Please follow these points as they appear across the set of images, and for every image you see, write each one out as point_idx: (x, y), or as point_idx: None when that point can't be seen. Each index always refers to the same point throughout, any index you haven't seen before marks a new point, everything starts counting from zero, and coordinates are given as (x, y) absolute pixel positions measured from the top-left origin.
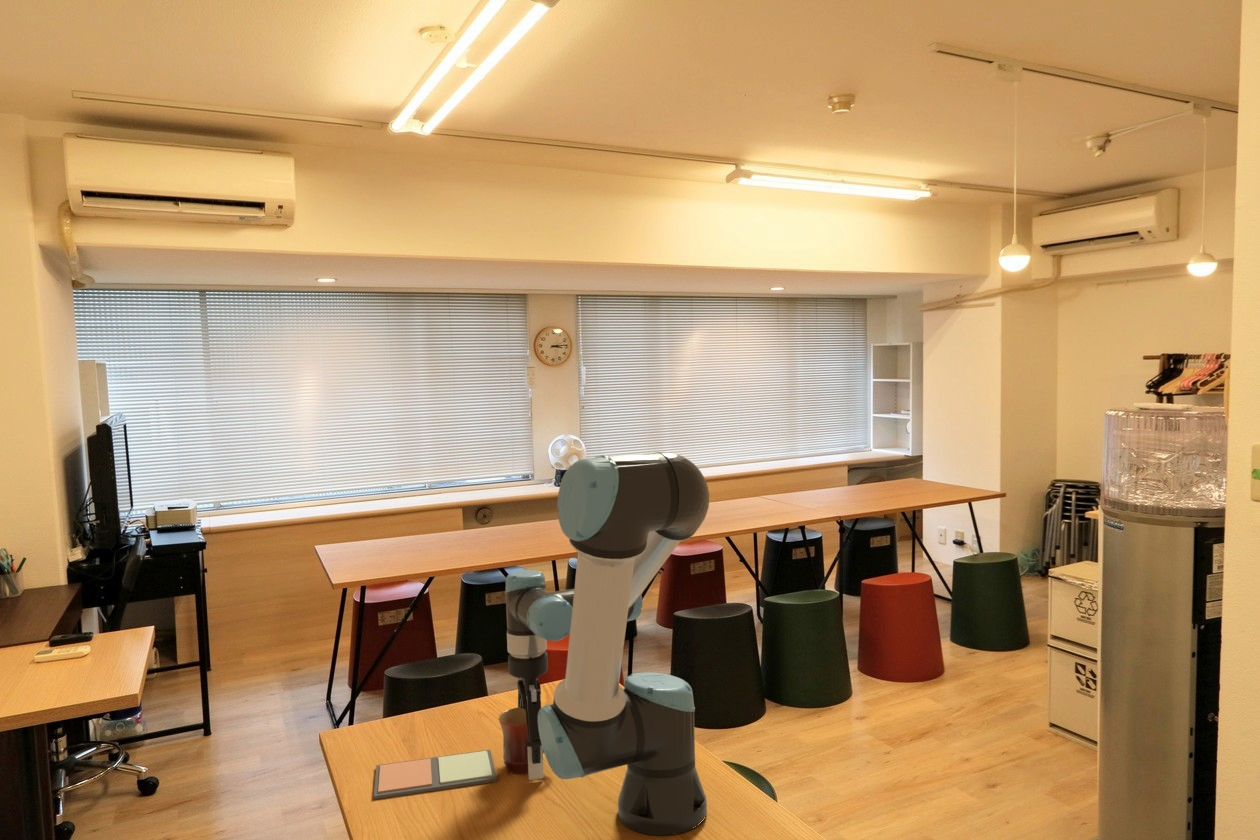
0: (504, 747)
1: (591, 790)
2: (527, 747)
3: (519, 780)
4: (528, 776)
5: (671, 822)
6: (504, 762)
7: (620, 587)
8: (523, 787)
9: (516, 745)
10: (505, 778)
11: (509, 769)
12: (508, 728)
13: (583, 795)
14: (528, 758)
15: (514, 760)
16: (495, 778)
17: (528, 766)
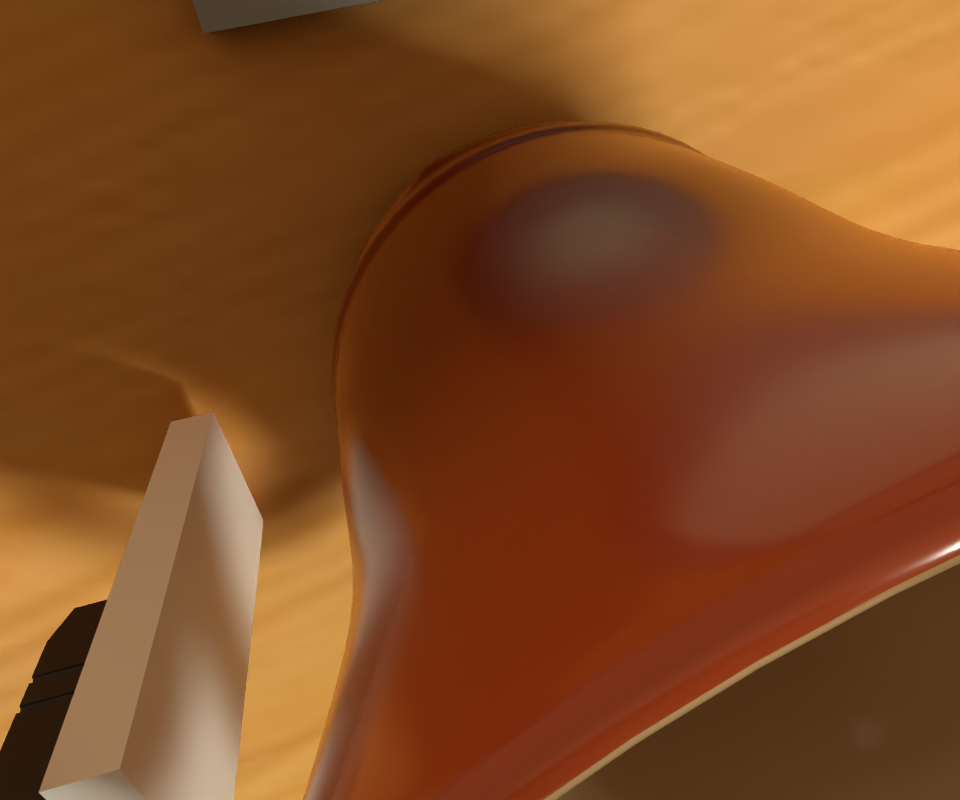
0: (529, 203)
1: None
2: (136, 707)
3: (248, 303)
4: (208, 423)
5: None
6: (508, 135)
7: None
8: (84, 361)
9: (357, 481)
10: (299, 141)
11: (399, 198)
12: (380, 681)
13: None
14: (113, 596)
15: (345, 321)
16: (198, 11)
17: (151, 510)
